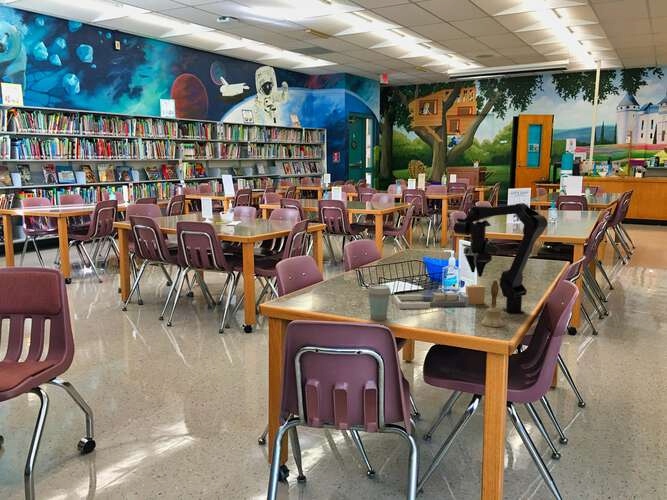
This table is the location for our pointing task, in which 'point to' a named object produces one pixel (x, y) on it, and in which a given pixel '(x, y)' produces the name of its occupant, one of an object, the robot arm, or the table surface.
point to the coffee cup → (378, 301)
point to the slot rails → (444, 302)
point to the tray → (409, 305)
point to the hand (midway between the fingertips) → (476, 274)
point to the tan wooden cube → (438, 297)
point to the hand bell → (493, 310)
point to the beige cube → (450, 297)
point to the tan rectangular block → (473, 295)
